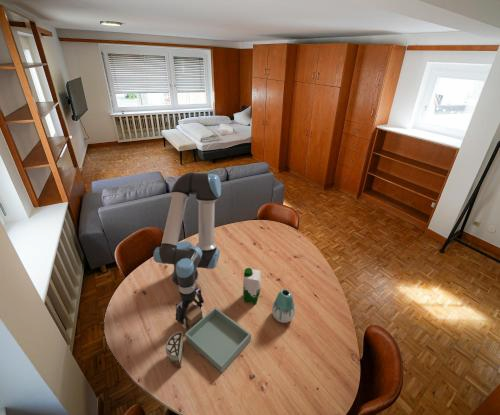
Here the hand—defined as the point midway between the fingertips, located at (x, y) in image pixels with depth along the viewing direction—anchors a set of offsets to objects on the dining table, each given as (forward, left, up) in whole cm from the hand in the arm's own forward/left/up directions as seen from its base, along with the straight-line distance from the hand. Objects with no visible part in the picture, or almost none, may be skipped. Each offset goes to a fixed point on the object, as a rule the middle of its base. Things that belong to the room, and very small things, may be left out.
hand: (191, 320), depth 135 cm
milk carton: (+14, +31, 0) cm, 34 cm away
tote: (+18, +1, 0) cm, 18 cm away
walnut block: (0, 0, 0) cm, 0 cm away
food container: (+9, -17, -1) cm, 19 cm away
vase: (+34, +32, 0) cm, 47 cm away
